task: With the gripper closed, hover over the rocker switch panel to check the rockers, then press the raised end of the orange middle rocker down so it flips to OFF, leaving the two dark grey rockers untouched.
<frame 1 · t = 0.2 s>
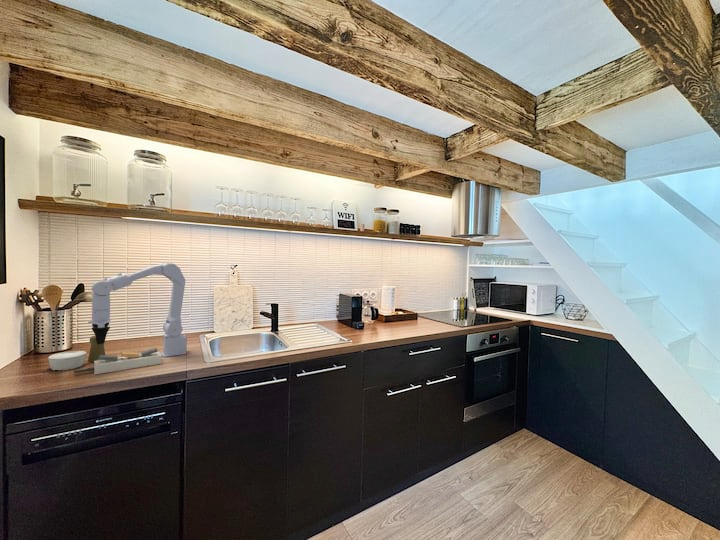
hand: (100, 341, 123), 10 cm above the worktop, tool pointing down, fingers open, 7 cm apart
olive-brown rounded piece: (96, 360, 130), on the worktop
rocker switch panel: (129, 366, 124), on the worktop
rocker middle: (130, 354, 124), point 5 cm above the worktop, hinge at -12.0°
rocker 1: (108, 357, 119), point 5 cm above the worktop, hinge at -12.0°
ramekin: (67, 367, 121), on the worktop
rocker 2: (149, 352, 129), point 5 cm above the worktop, hinge at 12.0°
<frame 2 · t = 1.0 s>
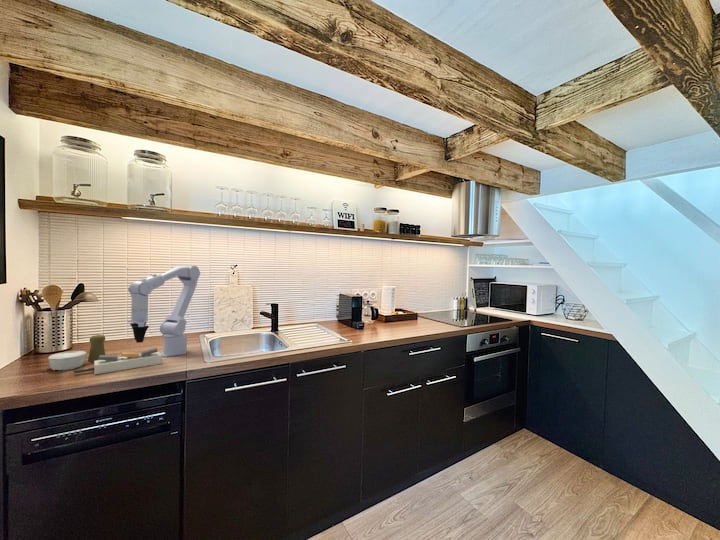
hand: (138, 340, 126), 10 cm above the worktop, tool pointing down, fingers open, 5 cm apart
nothing on the worktop moved.
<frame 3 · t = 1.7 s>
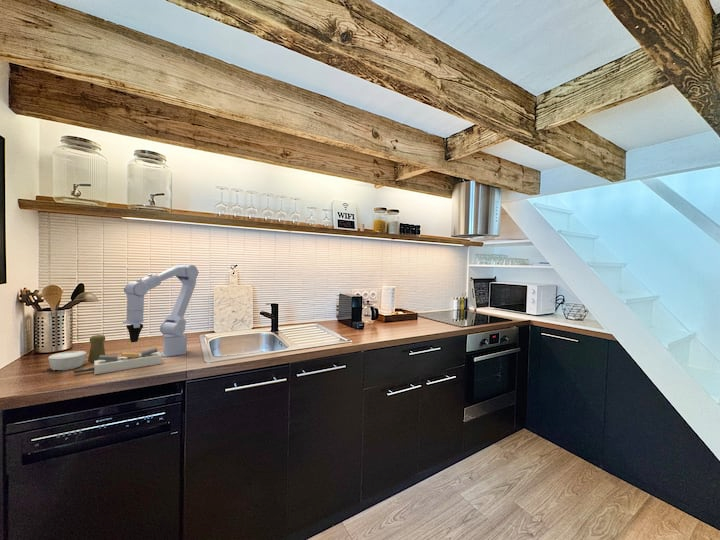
hand: (134, 341, 125), 10 cm above the worktop, tool pointing down, fingers closed
nothing on the worktop moved.
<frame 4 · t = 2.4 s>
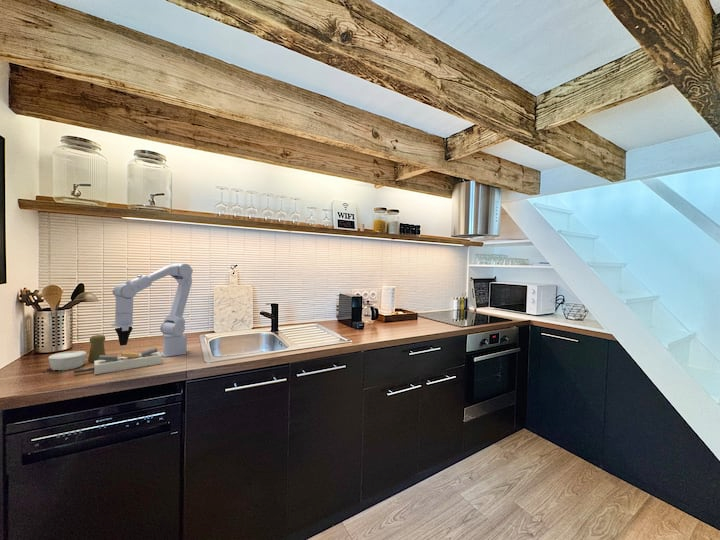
hand: (123, 344, 122), 9 cm above the worktop, tool pointing down, fingers closed
nothing on the worktop moved.
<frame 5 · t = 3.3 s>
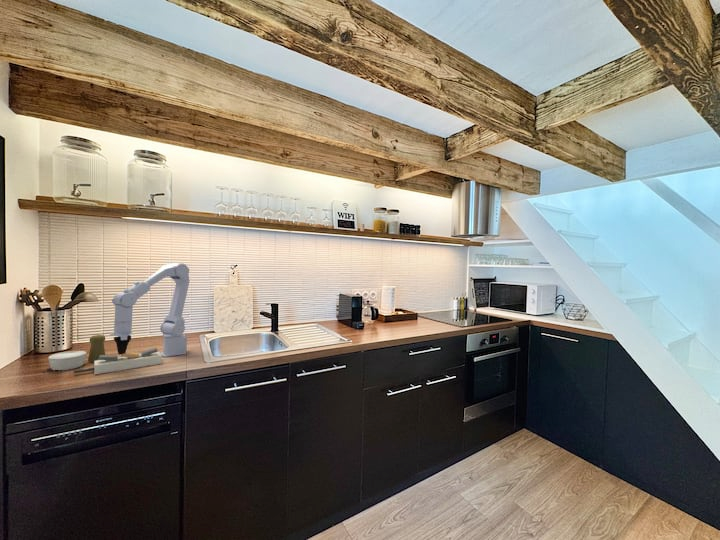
hand: (121, 353, 122), 6 cm above the worktop, tool pointing down, fingers closed, pressing on rocker middle
rocker middle: (130, 354, 124), point 5 cm above the worktop, hinge at -11.2°, touching gripper
everything else where it was.
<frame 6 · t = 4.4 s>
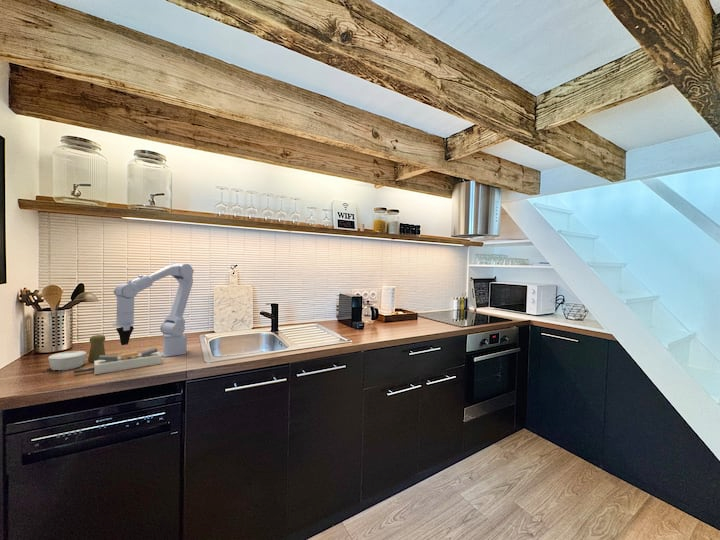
hand: (124, 344, 123), 9 cm above the worktop, tool pointing down, fingers closed
rocker middle: (129, 354, 124), point 5 cm above the worktop, hinge at 3.3°
everything else where it was.
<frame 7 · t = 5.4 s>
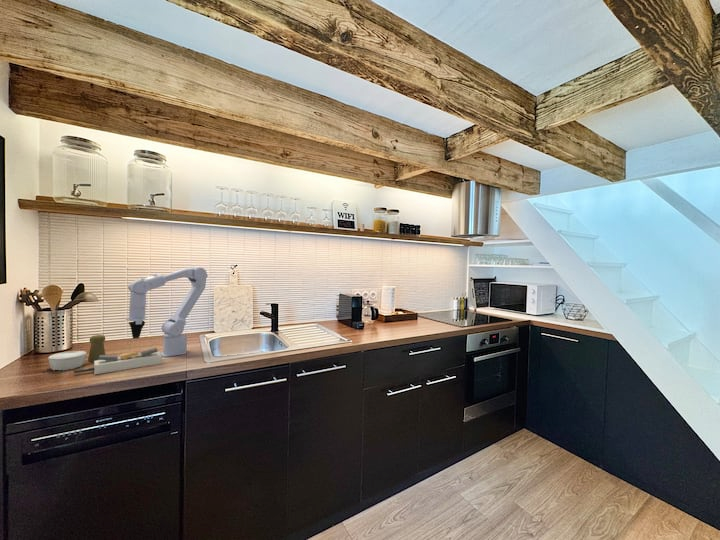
hand: (135, 338, 130), 10 cm above the worktop, tool pointing down, fingers closed
rocker middle: (129, 354, 124), point 5 cm above the worktop, hinge at 6.1°
everything else where it was.
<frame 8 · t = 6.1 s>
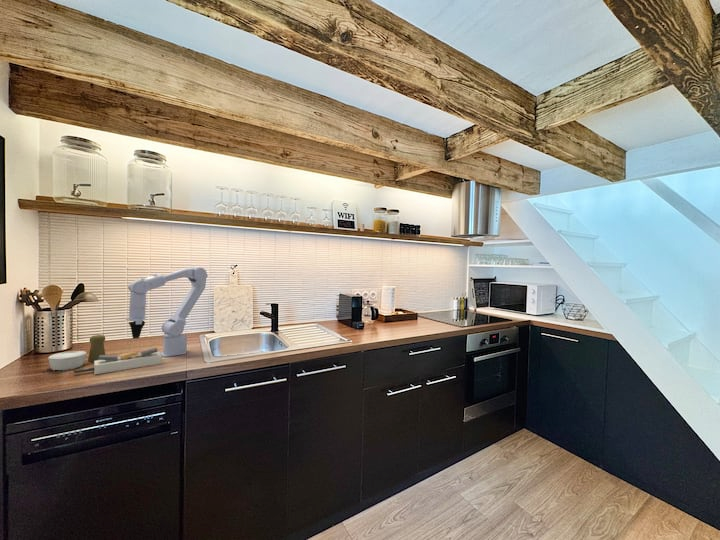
hand: (135, 338, 130), 10 cm above the worktop, tool pointing down, fingers closed
rocker middle: (129, 354, 124), point 5 cm above the worktop, hinge at 7.2°
everything else where it was.
at the end: rocker middle at +7° (first picture: -12°); rocker 2 at +12° (first picture: +12°); rocker 1 at -12° (first picture: -12°) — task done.
